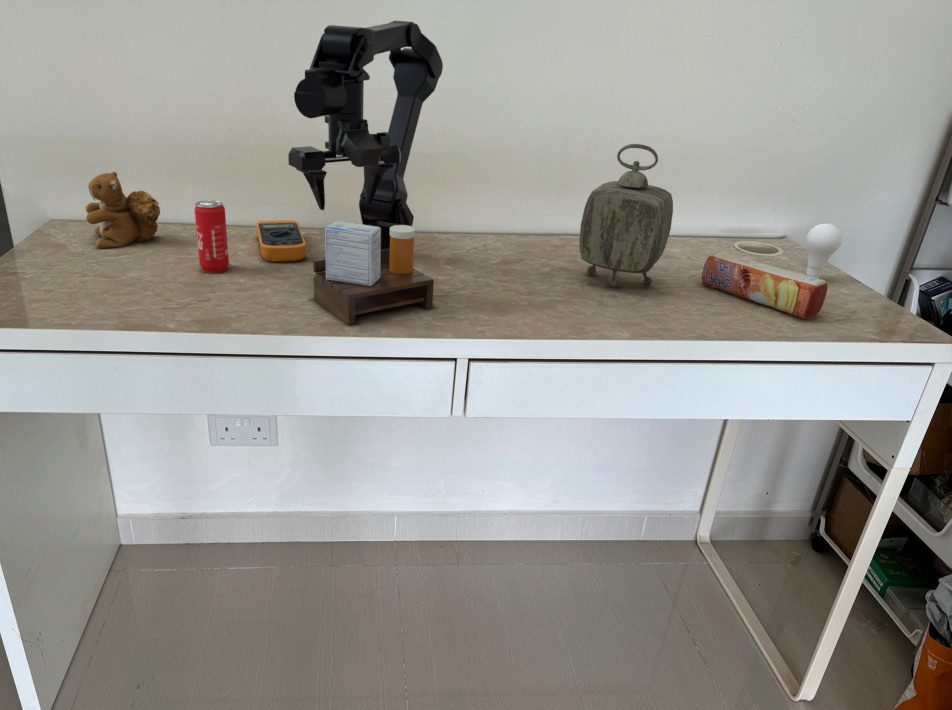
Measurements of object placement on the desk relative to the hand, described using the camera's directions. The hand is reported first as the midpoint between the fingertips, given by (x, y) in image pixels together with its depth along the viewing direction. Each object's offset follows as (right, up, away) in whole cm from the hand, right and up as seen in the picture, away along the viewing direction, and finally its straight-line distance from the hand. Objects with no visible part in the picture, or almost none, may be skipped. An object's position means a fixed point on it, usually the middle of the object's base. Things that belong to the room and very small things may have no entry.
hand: (345, 206), depth 133 cm
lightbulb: (+90, -10, +17) cm, 92 cm away
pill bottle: (+10, -12, -4) cm, 16 cm away
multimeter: (-15, -3, +20) cm, 25 cm away
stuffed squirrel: (-45, -2, +21) cm, 50 cm away
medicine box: (+2, -14, -9) cm, 17 cm away
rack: (+5, -17, -4) cm, 18 cm away
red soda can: (-25, -10, +8) cm, 28 cm away
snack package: (+73, -16, +5) cm, 75 cm away
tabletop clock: (+49, -12, +10) cm, 51 cm away
